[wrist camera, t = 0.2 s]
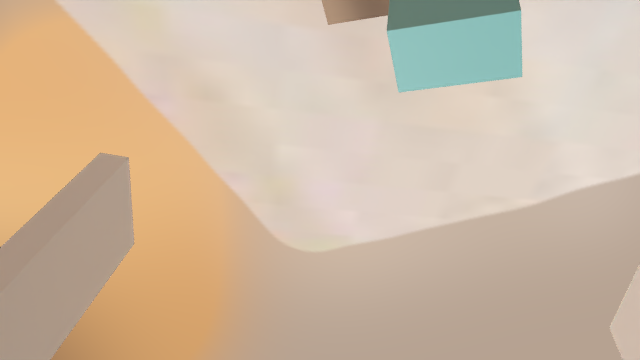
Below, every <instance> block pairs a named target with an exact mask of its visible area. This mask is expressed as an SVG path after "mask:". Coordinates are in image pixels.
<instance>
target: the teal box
mask: <svg viewBox="0 0 640 360" xmlns="http://www.w3.org/2000/svg"><path fill="white" fill-rule="evenodd" d="M387 34H388V39H389V45H390V50H391V55H392V60H393V65H394V70H395V76H396V81H397V86H398V91H399V92H406V91H414V90H422V89H430V88H438V87H446V86H454V85H461V84H469V83H477V82H485V81H493V80H501V79H509V78H517V77H522V38H521V8H520V4H519V0H389V12H388V24H387Z"/></svg>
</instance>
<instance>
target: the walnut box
mask: <svg viewBox="0 0 640 360" xmlns="http://www.w3.org/2000/svg"><path fill="white" fill-rule="evenodd" d="M322 3H323V7H324V11H325V14H326V18H327V22H328V25H330V24H336V23H342V22H348V21H355V20H361V19H367V18H373V17H379V16H386V15H388V12H389V0H322Z"/></svg>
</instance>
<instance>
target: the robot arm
mask: <svg viewBox="0 0 640 360" xmlns="http://www.w3.org/2000/svg"><path fill="white" fill-rule="evenodd" d="M133 245H134V232H133V217H132V202H131V186H130V170H129V158H128V157H122V156H117V155H111V154H105V153H100V154H98V155H97V156H96V157H95V158H94V159H93V160H92V161H91V162H90V163H89V164H88V165H87V166H86V167H85V168H84V169H83V170H82V171H81V172H80V173H79V174H77V175H76V176H75V177H74V178H73V179H72V180H71V181H70V182H69V183H68V184H67V185H66V186H65V187H64V188H63V189H62V190H61V191H60V192H58V193H57V194H56V195H55V196H54V197H53V198H52V199H51V200H50V201H49V202H48V203H47V204H46V205H45V206H44V207H43V208H42V209H41V210H40V211H38V212H37V213H36V214H35V215H34V216H33V217H32V218H31V219H30V220H29V221H28V222H27V223H26V224H25V225H24V226H23V227H22V228H21V229H20V230H18V231H17V232H16V233H15V234H14V235H13V236H12V237H11V238H10V239H9V240H8V241H7V242H6V243H5V244H4V245H3V246H2V247H0V360H50V359H51V358H52V356H53V355H54V354H55V352H56V351H57V350H58V348H59V347H60V346H61V344H62V343H63V341H64V340H65V339H66V337H67V336H68V335H69V333H70V332H71V330H72V329H73V328H74V326H75V325H76V323H77V322H78V321H79V319H80V318H81V317H82V315H83V314H84V312H85V311H86V310H87V308H88V307H89V306H90V304H91V303H92V301H93V300H94V298H95V297H96V296H97V294H98V293H99V292H100V290H101V289H102V287H103V286H104V285H105V283H106V282H107V281H108V279H109V278H110V276H111V275H112V274H113V272H114V271H115V270H116V268H117V267H118V265H119V264H120V263H121V261H122V260H123V258H124V257H125V255H126V254H127V253H128V252H129V250H130V249H131V247H132V246H133ZM610 330H611V333H612V335H613V338H614V340H615V343H616V345H617V348H618V350H619V353H620V355H621V358H622V360H640V264H639V266H638V268H637V271H636V273H635V275H634V277H633V279H632V281H631V283H630V285H629V287H628V289H627V292H626V294H625V296H624V298H623V300H622V302H621V304H620V307H619V308H618V311H617V313H616V315H615V317H614V319H613V321H612V323H611V325H610Z"/></svg>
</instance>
